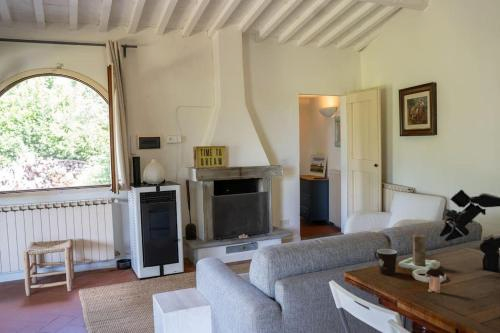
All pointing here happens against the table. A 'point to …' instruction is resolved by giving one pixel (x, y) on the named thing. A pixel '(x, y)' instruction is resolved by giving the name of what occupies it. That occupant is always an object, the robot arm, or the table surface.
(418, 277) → the ring dish
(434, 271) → the grandmother figurine
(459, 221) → the robot arm
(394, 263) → the coffee mug
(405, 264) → the tray
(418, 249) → the walnut post
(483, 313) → the table surface
